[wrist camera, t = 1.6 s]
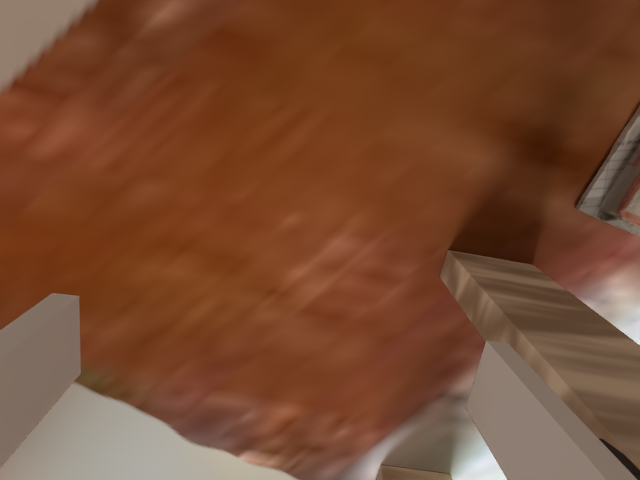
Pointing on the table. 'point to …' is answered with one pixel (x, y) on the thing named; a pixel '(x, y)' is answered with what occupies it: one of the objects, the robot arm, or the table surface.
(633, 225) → the packaged product
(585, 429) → the robot arm
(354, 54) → the table surface
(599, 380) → the frame
